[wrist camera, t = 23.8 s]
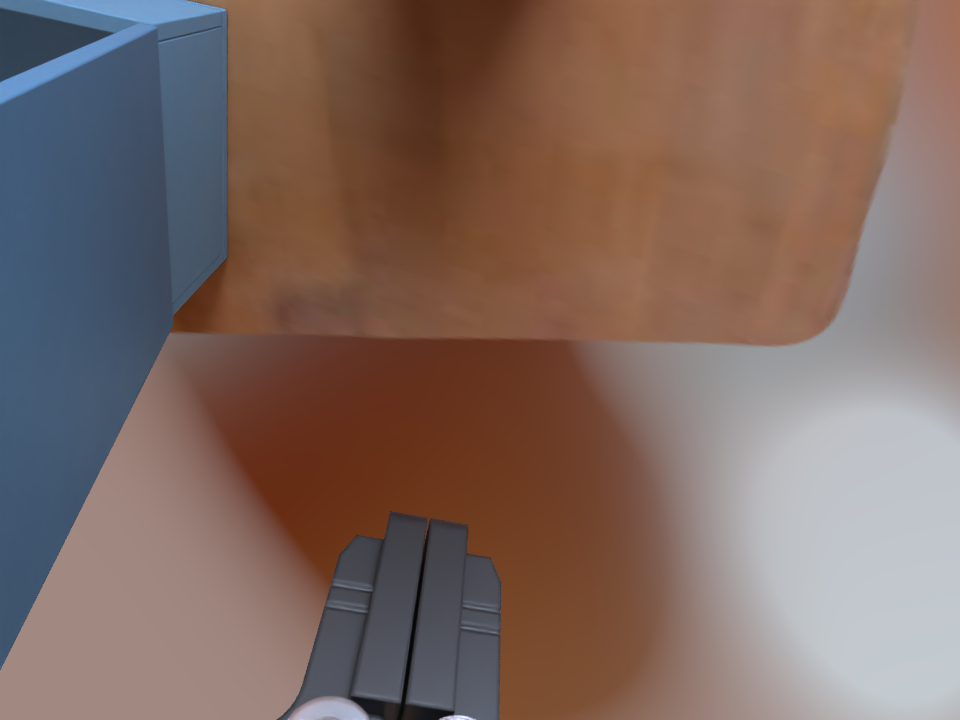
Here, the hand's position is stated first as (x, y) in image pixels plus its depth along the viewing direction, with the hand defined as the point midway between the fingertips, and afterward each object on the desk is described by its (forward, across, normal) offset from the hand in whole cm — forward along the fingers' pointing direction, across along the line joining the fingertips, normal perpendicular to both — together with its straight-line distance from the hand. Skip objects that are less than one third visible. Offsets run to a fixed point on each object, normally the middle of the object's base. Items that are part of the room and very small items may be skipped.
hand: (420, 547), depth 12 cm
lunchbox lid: (+6, +10, 0) cm, 12 cm away
